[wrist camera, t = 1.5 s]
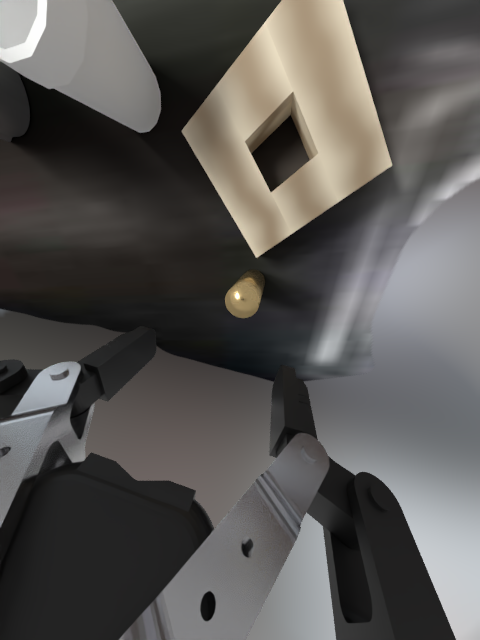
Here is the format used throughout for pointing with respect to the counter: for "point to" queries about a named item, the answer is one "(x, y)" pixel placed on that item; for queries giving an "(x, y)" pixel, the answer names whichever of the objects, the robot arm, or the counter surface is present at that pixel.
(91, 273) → the counter surface
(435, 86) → the counter surface
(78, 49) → the foam cup
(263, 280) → the brass cylinder
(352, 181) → the plate
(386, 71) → the counter surface
